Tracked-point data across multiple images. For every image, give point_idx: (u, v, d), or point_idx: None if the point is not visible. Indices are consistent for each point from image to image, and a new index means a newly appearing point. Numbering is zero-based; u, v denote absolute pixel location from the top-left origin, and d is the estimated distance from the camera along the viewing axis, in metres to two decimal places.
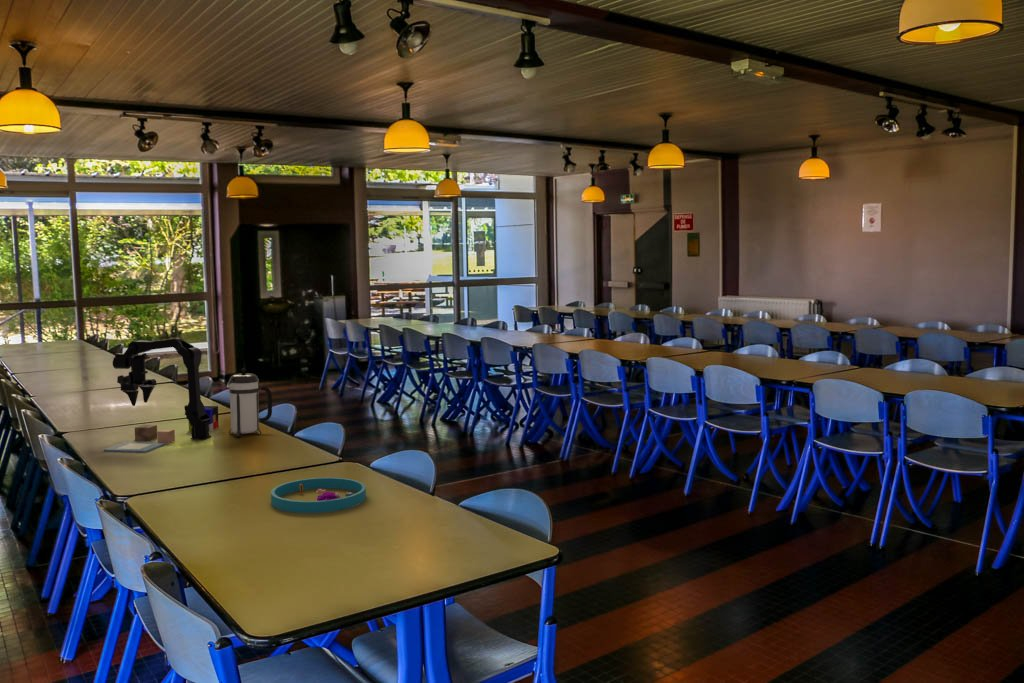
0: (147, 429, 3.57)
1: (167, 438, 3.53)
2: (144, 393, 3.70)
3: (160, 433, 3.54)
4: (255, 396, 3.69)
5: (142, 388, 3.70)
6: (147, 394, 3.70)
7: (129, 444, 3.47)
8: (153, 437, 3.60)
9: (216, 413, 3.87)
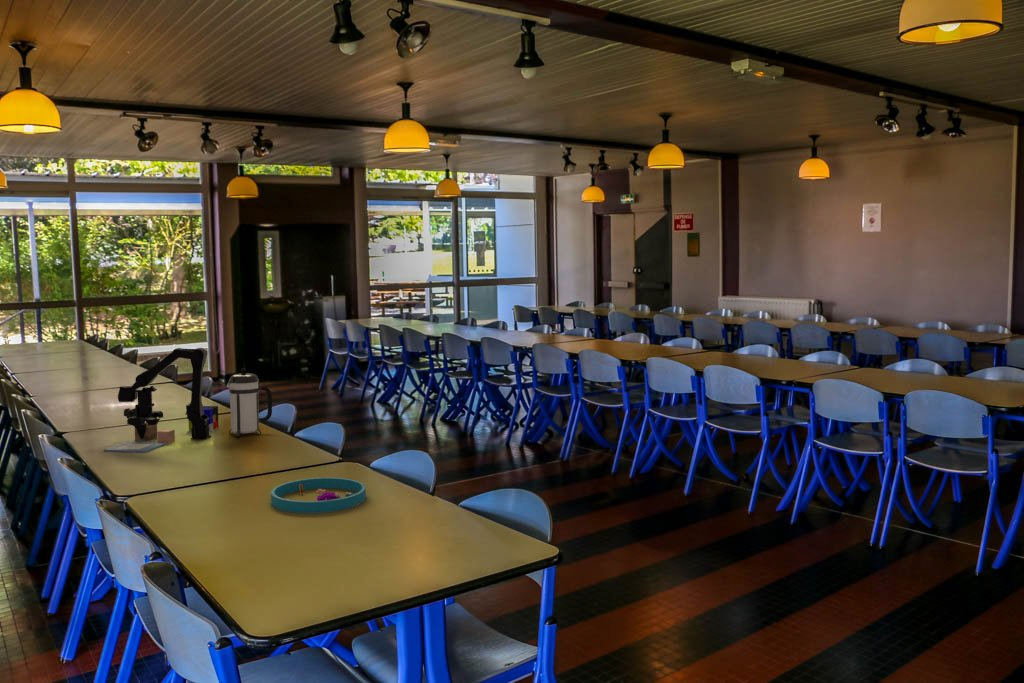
0: (147, 429, 3.57)
1: (167, 438, 3.53)
2: None
3: (160, 433, 3.54)
4: (255, 396, 3.69)
5: (147, 421, 3.64)
6: None
7: (129, 444, 3.47)
8: (153, 437, 3.60)
9: (216, 413, 3.87)
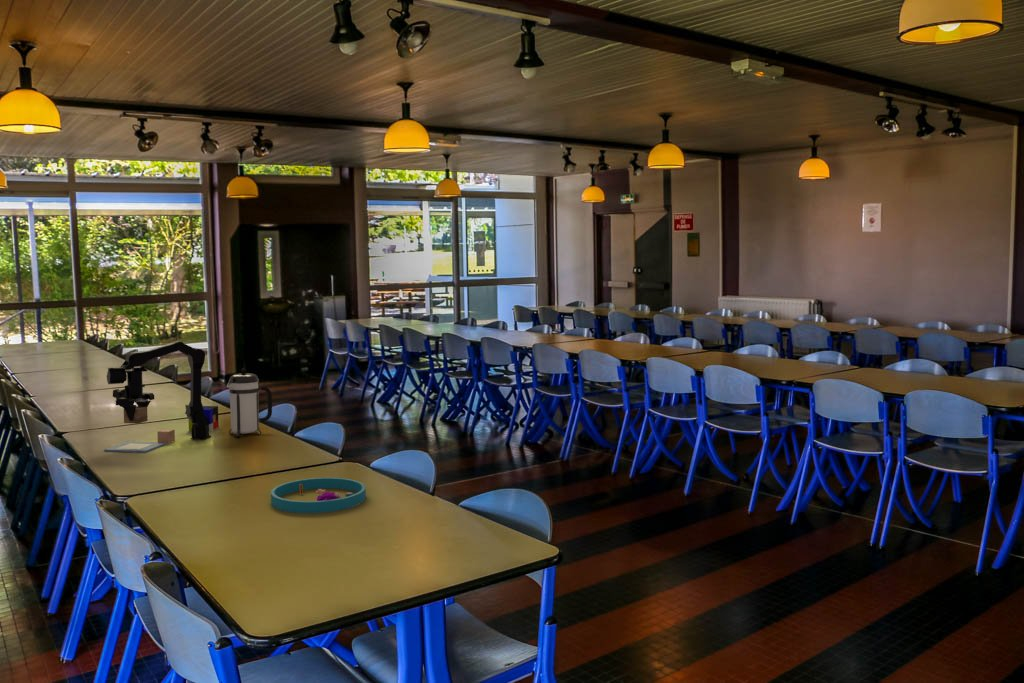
0: (136, 410, 3.43)
1: (167, 438, 3.53)
2: None
3: (160, 433, 3.54)
4: (255, 396, 3.69)
5: (137, 403, 3.50)
6: None
7: (129, 444, 3.47)
8: (143, 419, 3.46)
9: (216, 413, 3.87)
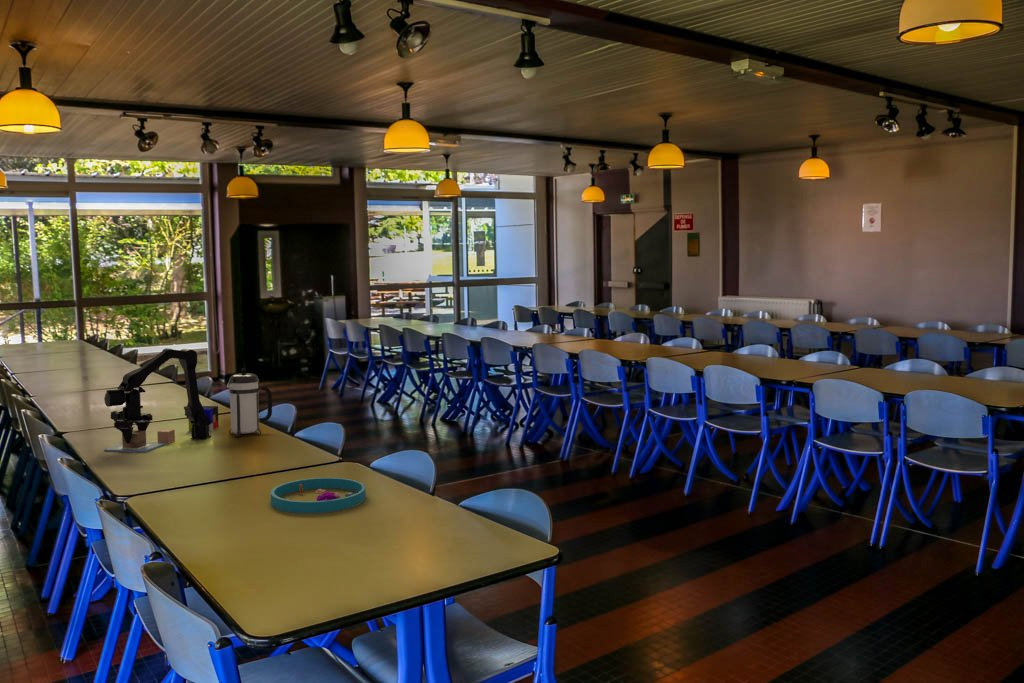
0: (135, 435, 3.39)
1: (167, 438, 3.53)
2: (139, 429, 3.47)
3: (160, 433, 3.54)
4: (255, 396, 3.69)
5: (137, 424, 3.48)
6: (142, 430, 3.47)
7: None
8: (142, 443, 3.43)
9: (216, 413, 3.87)
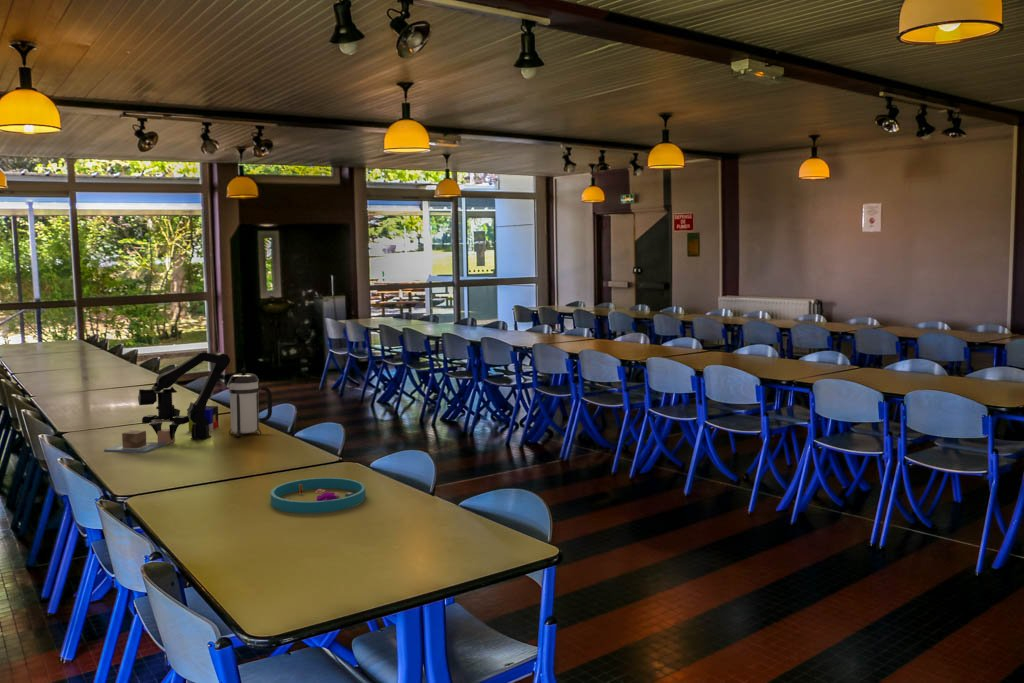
0: (135, 435, 3.39)
1: (167, 438, 3.53)
2: None
3: (160, 433, 3.54)
4: (255, 396, 3.69)
5: None
6: None
7: None
8: (142, 443, 3.43)
9: (216, 413, 3.87)
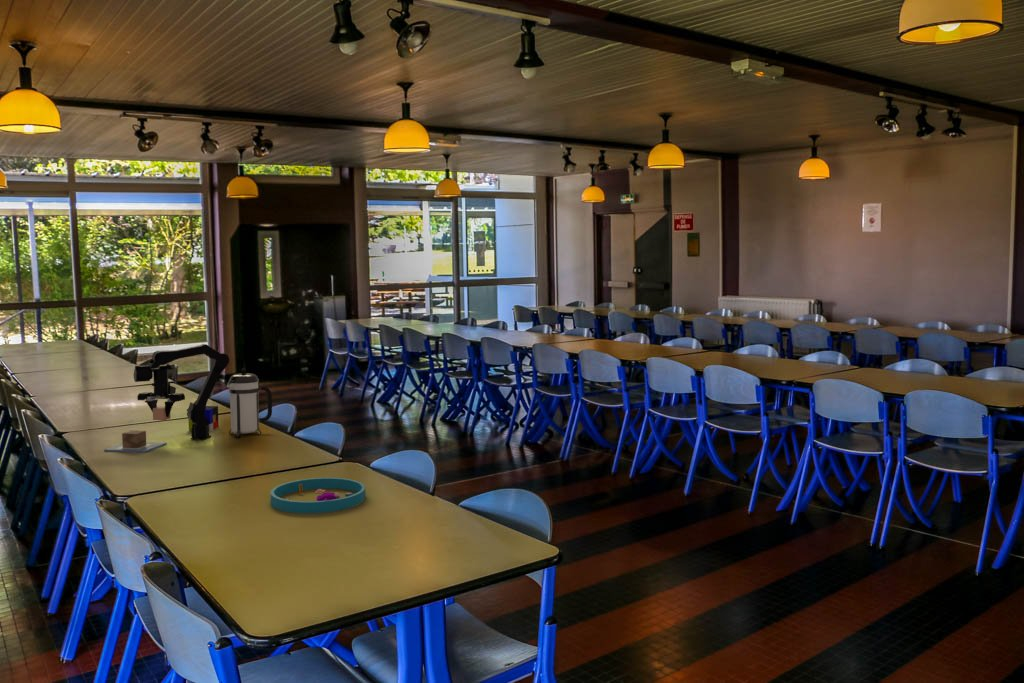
0: (135, 435, 3.39)
1: (162, 415, 3.51)
2: None
3: (155, 410, 3.51)
4: (255, 396, 3.69)
5: None
6: None
7: None
8: (142, 443, 3.43)
9: (216, 413, 3.87)
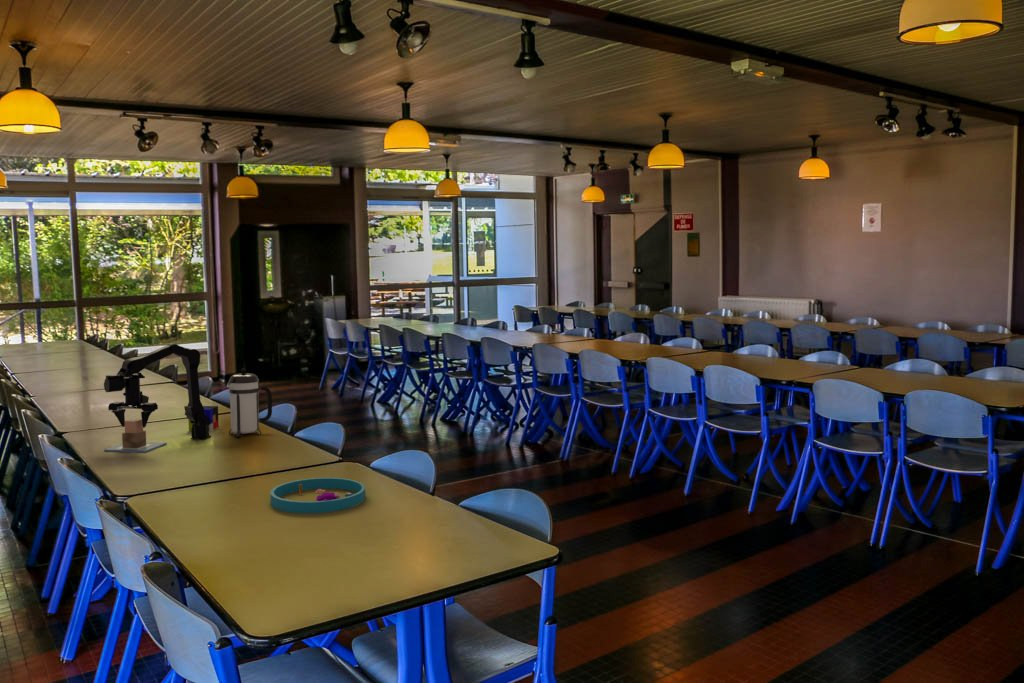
0: (135, 435, 3.39)
1: (134, 428, 3.40)
2: None
3: (127, 423, 3.40)
4: (255, 396, 3.69)
5: None
6: None
7: None
8: (142, 443, 3.43)
9: (216, 413, 3.87)
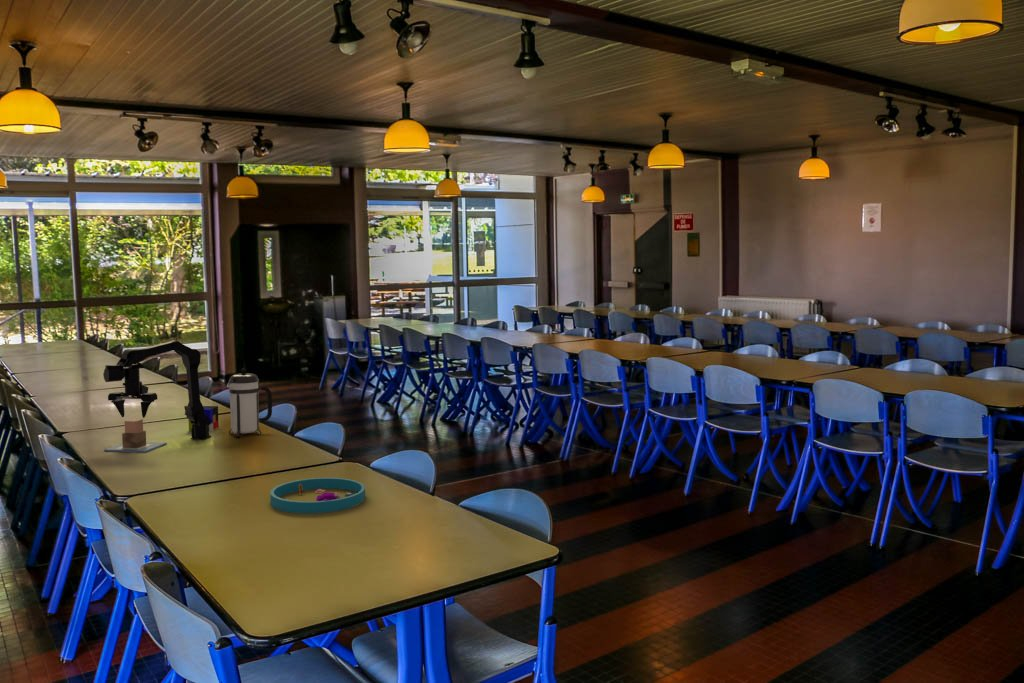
0: (135, 435, 3.39)
1: (134, 428, 3.40)
2: None
3: (127, 423, 3.40)
4: (255, 396, 3.69)
5: None
6: None
7: None
8: (142, 443, 3.43)
9: (216, 413, 3.87)
